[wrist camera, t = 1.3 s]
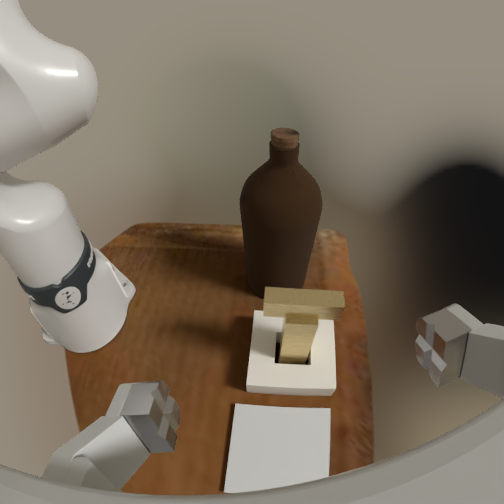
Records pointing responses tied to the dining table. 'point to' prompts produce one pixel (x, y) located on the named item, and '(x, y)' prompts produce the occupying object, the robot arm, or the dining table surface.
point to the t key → (300, 317)
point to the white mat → (277, 447)
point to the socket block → (290, 375)
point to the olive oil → (279, 217)
